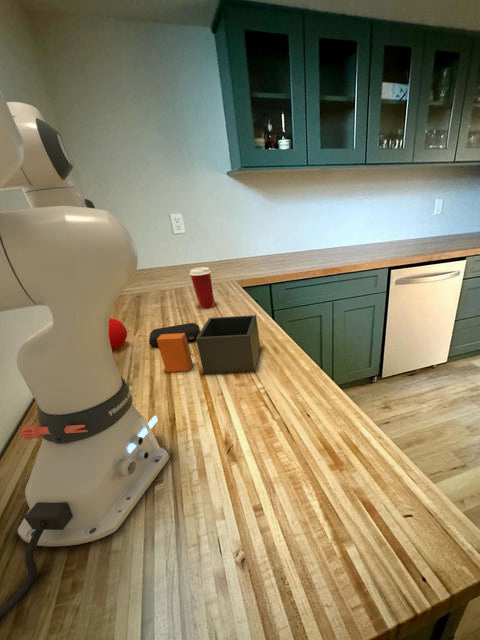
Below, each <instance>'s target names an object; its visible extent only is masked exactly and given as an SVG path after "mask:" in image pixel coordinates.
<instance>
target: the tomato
mask: <svg viewBox="0 0 480 640" xmlns="http://www.w3.org/2000/svg"><path fill="white" fill-rule="evenodd" d="M127 338H128V330H127V329H126V327H125V325H124V324H123V322H121V321H120V320H119V319H116V318H113V317H110V320H109V340H110V345H111V349H112V351H114V350H116V349H119V348H120V347H121V346H123V344H125V342H126V341H127Z"/></svg>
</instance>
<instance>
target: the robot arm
mask: <svg viewBox="0 0 480 640" xmlns="http://www.w3.org/2000/svg"><path fill="white" fill-rule="evenodd" d="M73 169H74V165H73V163H72V162H71V159H70V157H69V155H68V151H67V150H66V146H65V144H64V141H63V137H62V135H61V133H60V132H59V131H58V130H56V129H55V127H53V126H51V124H48V123H47V122H46V120H45V118H44V117H43V115H42V113H41V111H40V110H39V109H38V108H36V107H35V106H33V105H31V104H28V103H25V102H21V101H11V100H10V101H6V98H5V96H4V94H3V92H2V90H1V88H0V191H7V190H9V191H10V190H17V189H22V193H23V195H24V197H25V199H26V201H27V203H28V206H29V207H26V208H16V209H15V208H14V209H3V210H1V209H0V313H2V312H8V311H12V310H13V311H14V310H20V309H25V308H30V307H37V306H40V307H42V306H46V307H47V308H48V309H49V311H50V314H51V318H52V320H51V321H50V322H49V323H47V324H46V325H45V326H43V327H42V328H40V329H39V330H38V331H36V332H35V333H34V334H32V335H31V336H30V337H28V338H27V339H26V340H25V341H24V342H23V343H22V344H21V346H20V348H19V349H18V351H17V354H16V367H17V370H18V372H19V373H20V375H21V377H22V379H23V380H24V382H25V384H26V386H27V388H28V389H29V391H30V393H31V395H32V397H33V398H34V401H35V402H36V404H37V419H38V423H37V424H24V425H23V426H22V428H20V429H21V430H20V436H21V438H22V440H33V439H36V440H40V439H42V440H41V443H40V446H39V449H38V452H37V454H36V457H35V460H34V462H33V466H32V469H31V472H30V475H29V478H28V480H27V483H26V485H25V488H24V497H25V500H26V503H27V505H28V508H29V509H28V510H27V513H26V514H25V515H24V517H23V520H22V521H21V523H20V524H19V526H18V528H17V534H18V536H19V538H20V539H21V540H22V541H24V542H25V543H27V544H28V545H27V547H26V550H25V555H24V564H25V567H26V570H27V576H26V577H25V580H24V582H23V584H22V585H21V587H20V588H19V590H18V591H17V592H16V593H15V594H14V595H13V596H12V597H11V598H10V600H8V602H6V603H5V604H4V605H3V606H2V607H1V608H0V620H1V619H2V618H3V617H4V616H5V615H6V614H7V613H9V612H10V611H11V609H13V607H14V606H15V605H17V603H18V602H19V601H20V600H21V599H22V598H23V597H24V596H25V594H26V593H27V592H28V591H29V590H30V588H31V586H32V585H33V583H34V581H35V578H36V576H37V571H38V567H37V565H36V562H35V552H36V548H37V546H39V547H67V546H69V547H70V546H76V545H82V544H87V543H91V542H94V541H97V540H101V539H102V538H105V537H107V536H110V535H112V534H113V533H115V532H116V531H118V529H119V528H121V526H122V524H124V522H125V520H126V519H127V517H129V515H130V513H132V511H133V509H134V508H135V506H136V505H138V502H139V501H140V499H141V498H143V495H144V494H145V493H146V491H147V490H148V489H149V487H150V486H151V485H152V483H153V482H154V480H155V479H156V478H157V477H158V475H159V473H160V472H161V471H162V469H163V468H164V467H165V466H166V464H167V462H168V461H169V460H170V454H169V453H168V451H167V450H166V449H164V448H163V447H161V446H160V444H159V443H158V440H157V438H156V437H155V435H154V433H153V430H152V428H153V427H154V426H155V424H156V423H158V417H157V415H154V416H152V418H151V419H150V420H149V422H148V421H147V419H146V418H145V417H144V416H143V415H142V414H141V413H140V412H139V410H138V409H137V408H136V407H135V406H134V404H133V396H132V394H131V390H130V387H129V385H128V384H127V381H126V380H125V379H124V378H123V377H122V376H121V374H120V371H119V369H118V364H117V363H116V360H115V356H114V351H113V350H112V349H111V345H110V340H109V320H110V318H111V315H112V311H113V309H114V307H115V304H116V303H117V300H118V298H119V297H120V295H122V293H123V291H124V290H126V288H127V287H128V286H129V285H130V284H131V282H132V281H133V279H134V277H135V275H136V273H137V269H138V264H139V258H138V257H139V256H138V250H137V249H138V248H137V246H136V243H135V240H134V238H133V236H132V234H131V232H130V231H129V229H128V228H127V227H126V226H125V224H124V223H123V222H122V221H121V219H119V218H118V217H116V216H115V215H114V214H113V213H112V212H110V211H108V210H107V209H102V208H98V207H97V205H96V203H95V201H93V200H91V199H89V198H88V197H85V196H83V195H82V194H80V193H78V191H77V189H76V186H75V184H74V183H73V181H72V180H71V179H70V174H71V172H72V171H73Z"/></svg>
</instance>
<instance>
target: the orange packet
mask: <svg viewBox="0 0 480 640" xmlns="http://www.w3.org/2000/svg"><path fill="white" fill-rule="evenodd" d="M157 343H158V346H157V347H158V348H159V352H160V356H161V359H162V362H163V365H164V369H165V372H166V373H174V372H190V371H191V369H192V367H193V366H194V363H193V359H192V356H191V351H190V347H189V343H188V341H187V339H186V335H185V333H178V334H161V335H160V336H159V338H158V339H157Z"/></svg>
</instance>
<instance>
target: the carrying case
mask: <svg viewBox="0 0 480 640" xmlns="http://www.w3.org/2000/svg"><path fill="white" fill-rule="evenodd" d="M200 331H201V329H200V326H199V325H198V324H197V323H195V322H188V323H182V324H177V325H176V324H175V325H171V326H170V325H169V326H165V327H159V328H154V329H152V330H151V332H150V333H149V339H148V343H149V344H150V345H151V346H153V347H159V346H158V343H157V339H158V338H159V336H160V335H161V334H178V333H185V335H186V339H187V342H189V341H194V340H195V341H196V337H197V336H198V334H199V333H200Z"/></svg>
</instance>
